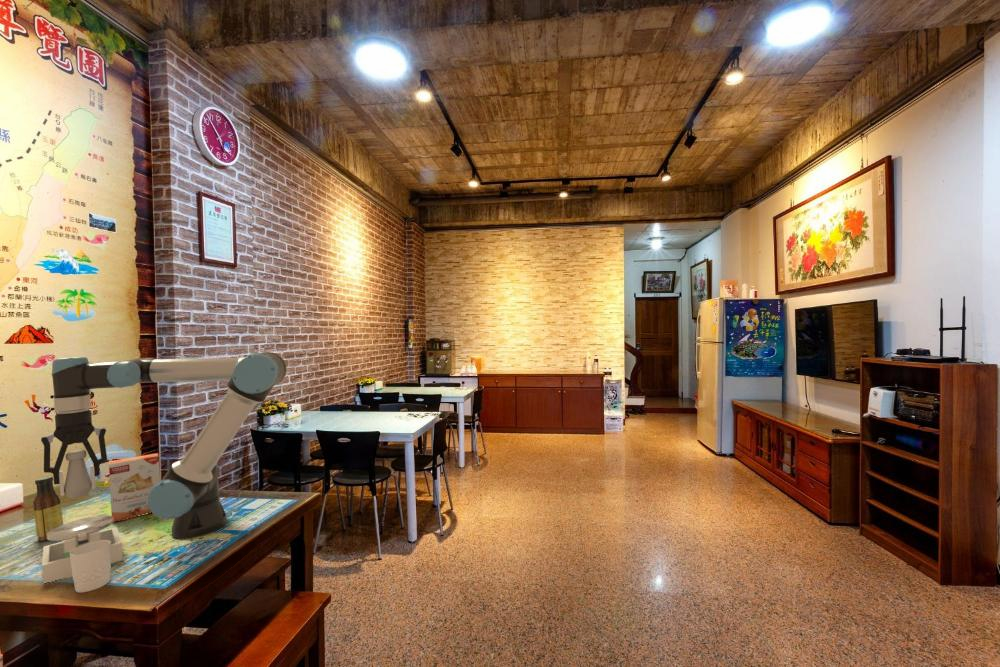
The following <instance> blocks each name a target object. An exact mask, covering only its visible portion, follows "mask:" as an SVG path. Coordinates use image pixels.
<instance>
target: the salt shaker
mask: <svg viewBox="0 0 1000 667" xmlns="http://www.w3.org/2000/svg"><path fill="white" fill-rule="evenodd" d="M85 458H87V450H86V449H75V450H71V451H68V452H67V453H65V459H66V461H68V465H67V471H66V476H65V477H66V478H65V481H64V495H66V497H67V498H68V499H76V498H81V497H82V498H83V497H85V496H87V495H89V493H90V491H91V490H92V486H91V485H92V484H91V477H90V474H89V471H88V468H87V464H86V462H85Z"/></svg>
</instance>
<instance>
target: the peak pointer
mask: <svg viewBox="0 0 1000 667" xmlns="http://www.w3.org/2000/svg"><path fill="white" fill-rule="evenodd" d="M87 542H88V538H87V539H86V540H82V541H79V540H78V545H80V544H83V543H87Z"/></svg>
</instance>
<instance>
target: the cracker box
mask: <svg viewBox="0 0 1000 667" xmlns="http://www.w3.org/2000/svg"><path fill="white" fill-rule="evenodd" d="M160 470H161V469H160V457H159V453H158V452H156V453H151V454H145V455H139V456H133V457H126V458H121V459H115V460H109V461H108V471H109V474H108V476H109V489H110V492H109V493H110V509H111V511H110V512H111V516H113V518H114V523H117V522H116V521H118V522H121V521H120V520H122V521H125V520H124V519H127V518H131V517H134V516H138V515H142V514H146V513H150V512H151V510H150V509H149V506H148V504H147V496H148V493H149V492H150V490H151V489H152V487H153V486H154V485H155V484H157V483H158V482H160V481H161V474H160V473H161V472H160ZM131 519H132V518H131ZM127 520H128V519H127Z"/></svg>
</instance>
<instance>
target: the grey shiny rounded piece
mask: <svg viewBox="0 0 1000 667" xmlns="http://www.w3.org/2000/svg"><path fill="white" fill-rule="evenodd" d="M113 522H114V518H113V516H112V515H109V514H106V515H105V514H103V515H101V514H100V515H95V516H87V517H83V518H80V519H76V520H72V521H69V522H66V523H63V525H61V526H58V527H56V528H54V529H52V530H51V531H49V532H48V533H47V539H48V540H47V541H51V542H62V541H65V540H68V539H72V538H75V539H76V548H77V547H79V546H81V545H84V544H87V543H90V538H89V534H91V533H94V532H98V531H103V530H106V528H107V529H108V527H110V526H111V525H113V524H114V523H115V522H114V523H113ZM87 538H88V542H87V543H83V544H80V545H78V540H79V541H82V540H86V539H87Z"/></svg>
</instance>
